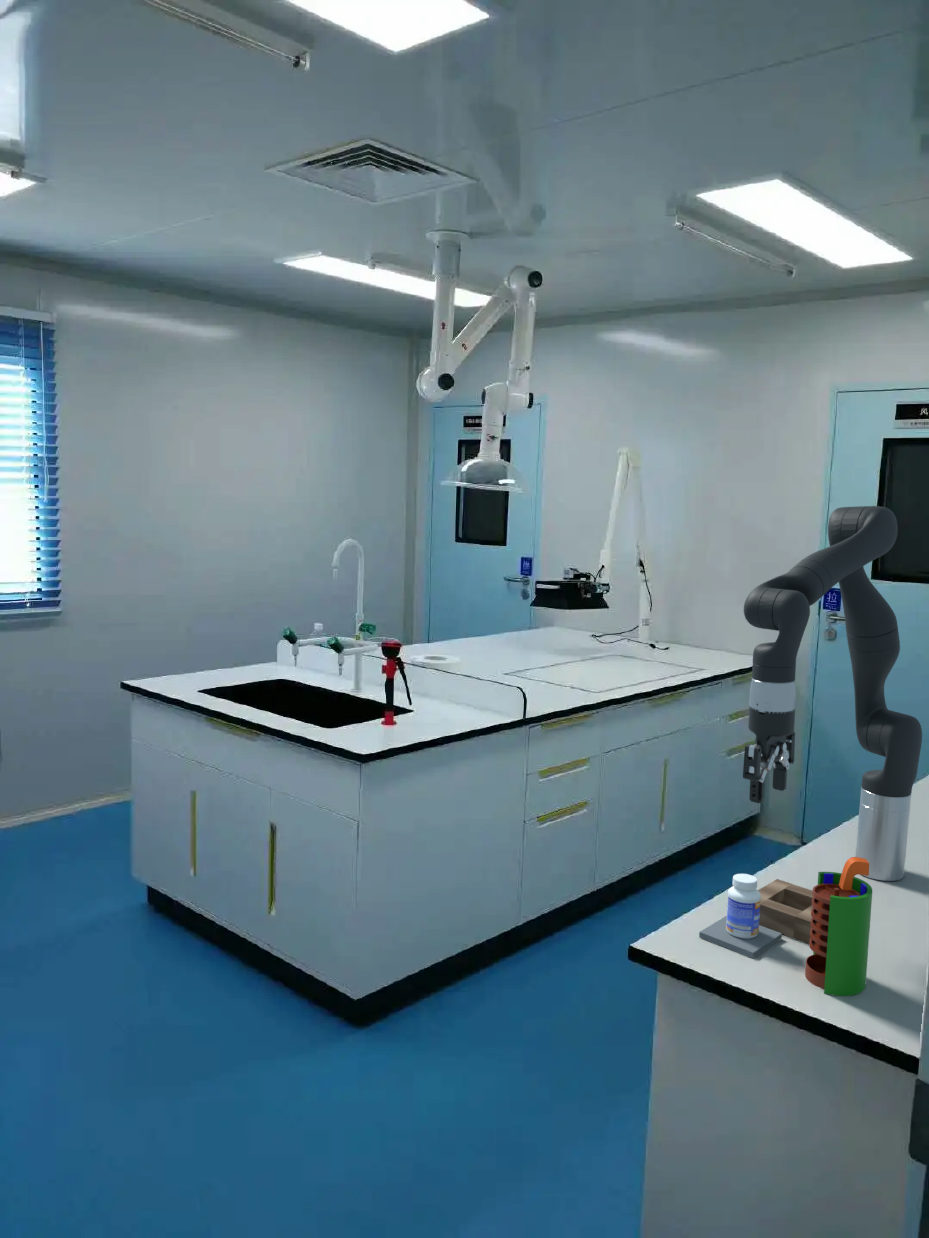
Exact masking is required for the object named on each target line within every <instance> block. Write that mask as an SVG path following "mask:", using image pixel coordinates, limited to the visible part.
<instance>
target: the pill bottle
mask: <svg viewBox="0 0 929 1238" xmlns="http://www.w3.org/2000/svg"><path fill="white" fill-rule="evenodd" d="M757 888H758V879H757V876H754V875H751V874H748V873H736V874H734V875H733V876H732V886H731V887H729V888H728V891H727V903H726V904H727V905H726V907H727V909H726V916H727V922H726V930H727V932H728V933H729V934H731V935H733V936H735V937H738V938H744V939H750V938H754V937H756V936H757V935H758V931H759V917H760V901H761V895H760V892H759V891H758V890H759V889H757Z"/></svg>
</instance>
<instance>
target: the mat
mask: <svg viewBox="0 0 929 1238" xmlns="http://www.w3.org/2000/svg"><path fill="white" fill-rule="evenodd" d="M726 922H727V915H726V916H724V917H722V918H721V919H719V920H717V921H716V922H714V923H712V924H710V925H709V926H707V927H706V928H704V929H702V930H701V931H699V933H698V935H699V936H698V937H699V939H702V940H705V941H707V942H710V943H713V944H715V945H718V946H719V947H720V946H721V947H723V948H725V949H727V950H731V951H733V952H736V953H738V954H740V955H744V956H746V957H749V958H751V959H754V958H757V956H759V955H760V954H761V953H763V952H765V951H766V950H768V949H769V948H770V946H771V947H772V946H773V945H775V944H776V943H778V942H779V941H781V940H782V939H781V938H782V937H783V936H782V933H779V932H777V931H774V930H771V929H768V928H766V927H763V926H760V925H759V931H758V935H757V936H756V937H754V938H750V939H744V938H738V937H735V936H733V935H731V934H729V933H728V932H727V930H726ZM780 939H781V940H780Z"/></svg>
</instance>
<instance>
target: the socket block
mask: <svg viewBox="0 0 929 1238" xmlns="http://www.w3.org/2000/svg"><path fill="white" fill-rule="evenodd" d="M757 890H758V891H759V892H760V895H761V901H760V917H759V925H760V926H763V927H766V928H768V929H771V930H774V931H777V932H779V933H782V934H784V935H783V936H785V937H788V938H792V939H793V938H795V939H794V940H796V939H797V940H796V941H800V942H801V943H805V944H808V945H809V940H810V938H811V937H810V929H811V925H810V923H811V918H812V916H811V909H812V908H813V906H812V898H813V897H814V896H813V895H812V891H813V889H809V888H806V887H803V886H800V885H797V884H793V883H791V882H789V881H784V880H782V879H778V878H776V879H775V880H773V881H771V882H768V884H766V885H763V886H762V887H760V888H759V889H757Z"/></svg>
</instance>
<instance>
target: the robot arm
mask: <svg viewBox="0 0 929 1238" xmlns="http://www.w3.org/2000/svg"><path fill="white" fill-rule="evenodd" d="M896 517H897V516H896V515H895V514H894V512H893V511H892V510H891V509H890V508H888V507H885V506H879V505H866V506H865V505H864V506H862V505H861V506H842V507H837V508H836V509H834V510H833V511H832V512H831V514H830V515H829V518H828V524H827V537H828V538H827V539H828V542H829V543H828V544H829V545H828V547H825V548H822V549H820V550H817V551H815V552H812V553H811V554H808V555H807V556H805V557H803V559H801V560H800V561H799V562H798V563H796V564H795V565H794V566H793V567H792V568H791V569H789V571H787V572H786V573H784V574H781V575H778V576H775V577H772V578H771V579H768V580H767V581H764V582H763V583H761V584H758V585H757V586H756V587H754V588H753V589H752V590H751V591H750V592H749V593H748V595H747V597H746V599H745V600H744V604H743V615H744V618H745V620H746V622H748V624H749V625H751V626H752V627H754V628H758V629H762V630H771V631H777V632H778V636H777V638H776V640H775V642H774V641H773V642H772V641H771V642H764V643H759V644H756V646H755V647H754V649H753V653H752V667H751V668H752V670H751V671H752V672H751V673H752V674H751V684H750V688H749V700H748V702H749V706H748V725H747V727H748V730H749V732H751V733H753V734H754V736H755V740H754V743H753V744H749V743H747V744H745V746H744V755H743V756H744V757H743V769H742V778H743V780H749V801H750V802H752V803H755V804H756V803H757V804H761V803H763V802H764V796H765V793H764V791H765V782H764V781H765V779H766V775H767V773H768V772H770V771H771V769H772V768H773V769H772V770H773V771H772V772H773V773H772V788H773V789H774V790H777V791H781V792H784V791H785V790H786V789H787V781H788V780H787V777H788V770H789V769H790V766H791V765H792V764H794V763H795V750H796V749H795V743H796V742H795V740H796V732H795V721H796V720H795V719H796V699H797V689H796V671H797V670H796V669H797V668H796V667H797V656H798V652H799V649H800V646H801V642H802V639H803V636H804V633H805V631H806V628H807V626H808V623H809V619H810V614H811V606H812V605H814V604H815V603H817V602H818V601H819V600H820V599H821V598H822V597H824V596H825V595H826V594H827V593H828V592H829V591H830V590H831V589H832V588H833V587H834V586H835V585H837V584H838V586H839V590H840V595H841V602H842V609H843V615H844V616H843V617H844V622H845V623H844V624H845V633H846V639H847V641H846V642H847V646H848V652H849V657H850V662H851V663H850V664H851V671H852V681H853V690H854V714H855V718H854V719H855V730H856V731H855V732H856V737H857V741H858V744H859V746H861V748H863V749H864V750H866V751H867V752H868V753H871V754H875V755H877V756H881V757H884V758H885V760H884V763H883V768H882V769H871V770H867V771H865V772H864V773H863V774H862V778H861V787H860V796H859V797H860V798H859V809H858V810H859V812H858V819H857V820H858V821H857V834H856V845H855V846H856V847H855V856H854V857H859V858H864V859H866V860H867V861H868V862H869V876H866V875H862V876H864V877H866V878H869V879H873V880H878V881H885V882H893V881H899V880H901V879H903V878H904V876H905V865H906V859H907V858H906V857H907V844H908V834H909V824H910V813H911V804H912V803H911V802H912V801H911V800H912V791H913V787H914V784H915V781H916V779H917V775H918V771H919V762H920V755H921V749H922V742H923V731H922V730H923V729H922V725H921V722H920V721H919V720H918V719H917V718H916V717H915V716H912V715H909V714H905V713H902V712H898V711H894V710H891V709H888V707H887V704H886V703H887V702H886V698H885V683H886V680H887V678H888V676H889V674H890V672H891V670H893V667H894V666H895V664H896V662H897V660H898V658H899V654H900V651H901V645H900V643H901V641H900V634H899V625H898V620H897V616H896V614H895V612H894V610H893V609H892V607H891V605H890V604H889V603H888V602H887V600H886V599H885V598H884V597H883V595H882V594H881V593H880V591H878V589H877V588H876V587H875V585H874V584H873V583H872V581H871V580H870V579H869V576H868V575H867V573H866V571H865V567H864V566H866V565H867V564H869V563H871V562H872V561H875V560H876V559H877V560H878V558H880V557H882V556H884V555H885V554H887V553H888V552H889V551H890V550H891V549H892V548H893V547H894V545H895V542H896V541H897V537H898V532H899V531H898V530H899V529H898V528H899V527H898V521H897V518H896ZM790 764H791V765H790Z"/></svg>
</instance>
